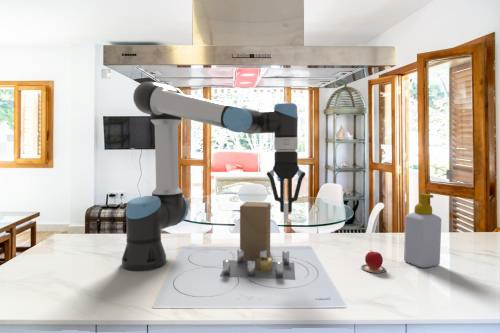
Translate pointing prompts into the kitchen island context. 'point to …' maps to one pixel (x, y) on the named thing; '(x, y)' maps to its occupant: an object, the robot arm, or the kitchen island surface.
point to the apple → (373, 262)
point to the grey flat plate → (242, 271)
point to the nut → (264, 264)
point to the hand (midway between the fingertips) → (286, 221)
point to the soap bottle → (422, 235)
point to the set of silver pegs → (252, 263)
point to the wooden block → (254, 228)
